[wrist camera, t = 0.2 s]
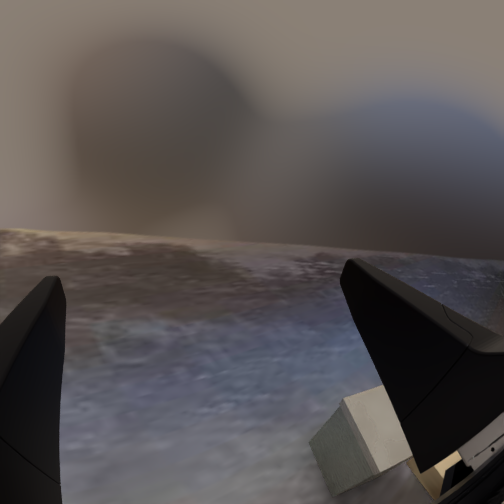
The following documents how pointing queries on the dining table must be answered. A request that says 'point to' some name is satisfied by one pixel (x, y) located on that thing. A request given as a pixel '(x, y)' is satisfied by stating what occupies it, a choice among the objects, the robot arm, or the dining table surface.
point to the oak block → (434, 474)
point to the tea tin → (360, 441)
